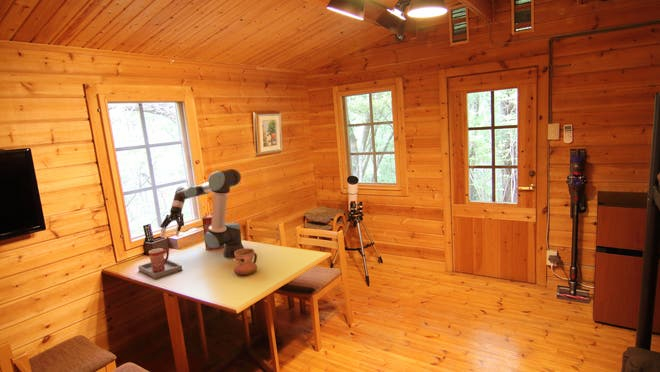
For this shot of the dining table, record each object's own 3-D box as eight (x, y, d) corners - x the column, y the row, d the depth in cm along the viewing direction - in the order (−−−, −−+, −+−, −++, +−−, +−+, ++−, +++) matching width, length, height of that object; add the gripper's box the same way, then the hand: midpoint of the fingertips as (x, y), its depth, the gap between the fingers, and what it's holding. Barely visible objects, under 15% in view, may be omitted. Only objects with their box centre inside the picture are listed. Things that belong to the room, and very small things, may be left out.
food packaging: (205, 250, 300) (201, 218, 295) (206, 246, 309) (203, 215, 304) (223, 248, 302) (220, 216, 298) (224, 244, 311) (221, 213, 307)
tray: (182, 270, 262) (181, 265, 261) (155, 279, 249) (154, 274, 248) (165, 262, 278) (164, 257, 277) (139, 271, 265) (138, 266, 264)
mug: (155, 273, 256) (152, 253, 253) (148, 271, 261) (145, 251, 259) (173, 267, 265) (171, 248, 263) (166, 264, 271) (164, 245, 268)
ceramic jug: (241, 279, 241) (239, 257, 239) (227, 274, 251) (226, 252, 249) (264, 270, 254) (263, 249, 252) (251, 265, 264) (249, 245, 262)
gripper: (193, 208, 282) (186, 236, 273) (167, 211, 292) (160, 239, 283) (186, 204, 276) (178, 232, 267) (160, 207, 286) (151, 235, 277)
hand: (169, 236), depth 275 cm, fingers open, 13 cm apart
